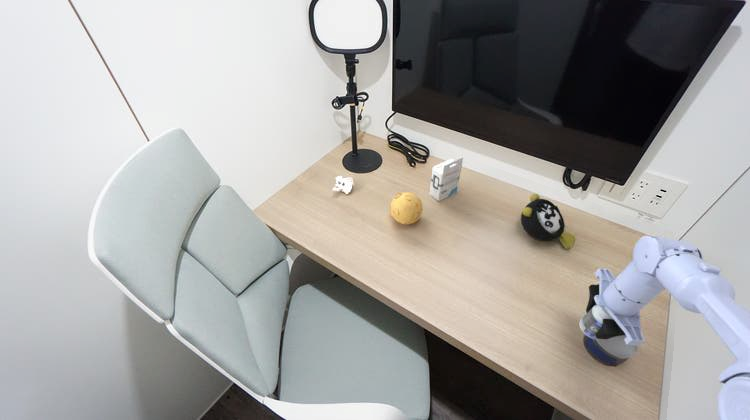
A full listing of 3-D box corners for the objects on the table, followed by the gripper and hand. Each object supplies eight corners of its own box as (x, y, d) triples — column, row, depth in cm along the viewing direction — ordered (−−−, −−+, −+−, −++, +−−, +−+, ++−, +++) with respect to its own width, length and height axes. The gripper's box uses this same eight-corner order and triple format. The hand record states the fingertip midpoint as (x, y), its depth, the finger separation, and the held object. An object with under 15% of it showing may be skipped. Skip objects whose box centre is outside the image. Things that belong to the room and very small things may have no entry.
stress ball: (394, 206, 104) (394, 183, 97) (423, 211, 102) (426, 188, 95) (386, 227, 97) (387, 204, 90) (418, 233, 95) (421, 210, 88)
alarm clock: (541, 263, 91) (535, 234, 81) (516, 228, 101) (509, 198, 92) (582, 247, 88) (581, 215, 79) (553, 212, 99) (549, 180, 89)
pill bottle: (582, 338, 64) (602, 319, 58) (576, 316, 67) (594, 296, 61) (607, 341, 63) (630, 322, 57) (599, 319, 67) (620, 299, 61)
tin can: (633, 359, 68) (647, 349, 64) (604, 372, 66) (616, 364, 63) (602, 324, 74) (613, 314, 70) (574, 336, 72) (584, 326, 68)
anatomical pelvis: (335, 172, 112) (353, 171, 111) (337, 181, 114) (355, 180, 114) (331, 186, 106) (350, 185, 105) (333, 196, 109) (352, 195, 108)
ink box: (446, 185, 111) (453, 149, 101) (456, 192, 108) (464, 157, 98) (428, 194, 108) (433, 158, 98) (438, 202, 105) (444, 166, 95)
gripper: (593, 253, 60) (564, 291, 69) (627, 326, 50) (588, 358, 59) (632, 256, 59) (598, 293, 69) (675, 331, 49) (628, 362, 59)
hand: (596, 324), depth 64 cm, fingers closed on pill bottle, 5 cm apart
